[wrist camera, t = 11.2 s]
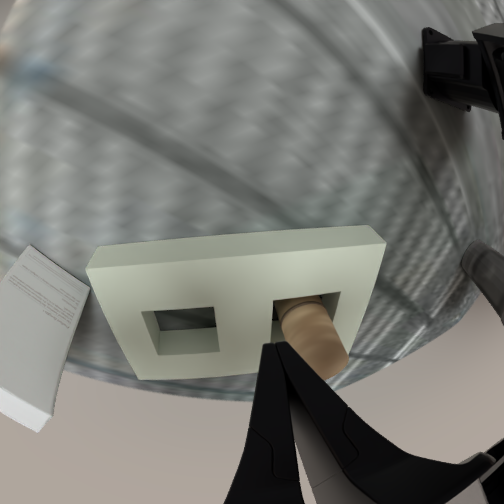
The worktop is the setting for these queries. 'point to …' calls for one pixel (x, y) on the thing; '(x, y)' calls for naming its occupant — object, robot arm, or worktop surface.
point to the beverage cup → (486, 273)
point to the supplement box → (36, 335)
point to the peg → (312, 334)
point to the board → (229, 293)
